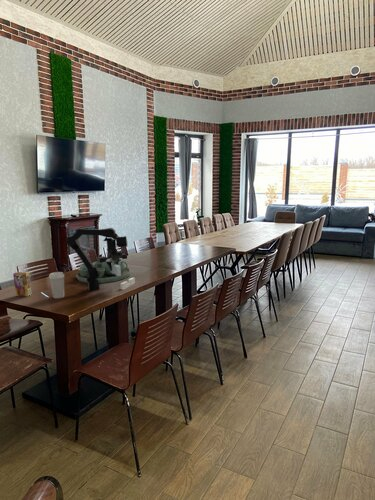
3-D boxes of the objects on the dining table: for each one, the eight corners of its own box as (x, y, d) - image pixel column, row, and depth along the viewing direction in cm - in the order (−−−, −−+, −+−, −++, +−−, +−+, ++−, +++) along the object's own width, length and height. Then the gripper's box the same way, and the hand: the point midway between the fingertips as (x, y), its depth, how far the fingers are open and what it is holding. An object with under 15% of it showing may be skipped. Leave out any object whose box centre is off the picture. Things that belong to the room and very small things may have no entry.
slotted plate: (121, 275, 235) (120, 266, 234) (117, 275, 234) (116, 266, 233) (114, 271, 245) (113, 263, 244) (110, 272, 244) (110, 263, 243)
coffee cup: (68, 294, 235) (66, 271, 233) (64, 298, 226) (61, 275, 223) (53, 294, 235) (51, 272, 232) (48, 299, 226) (45, 275, 223)
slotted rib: (123, 289, 241) (123, 283, 240) (120, 289, 241) (120, 283, 241) (135, 283, 255) (134, 277, 255) (132, 283, 256) (132, 277, 255)
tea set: (82, 272, 296) (80, 252, 293) (132, 269, 300) (130, 249, 297) (71, 285, 257) (69, 262, 254) (129, 282, 261) (127, 259, 258)
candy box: (32, 294, 237) (29, 271, 235) (28, 296, 233) (25, 273, 230) (19, 294, 239) (16, 271, 236) (15, 296, 234) (12, 273, 232)
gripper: (101, 250, 228) (103, 275, 231) (129, 247, 238) (131, 270, 241) (96, 248, 238) (98, 272, 240) (123, 245, 247) (124, 267, 250)
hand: (113, 270), depth 243 cm, fingers closed on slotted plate, 2 cm apart
